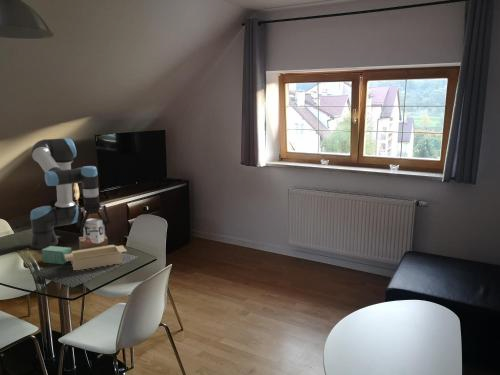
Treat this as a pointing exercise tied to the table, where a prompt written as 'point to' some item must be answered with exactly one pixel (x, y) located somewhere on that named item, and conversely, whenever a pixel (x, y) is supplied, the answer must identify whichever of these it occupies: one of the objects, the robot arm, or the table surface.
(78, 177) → the robot arm
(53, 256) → the box
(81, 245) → the stand
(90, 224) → the ink box
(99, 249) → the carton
